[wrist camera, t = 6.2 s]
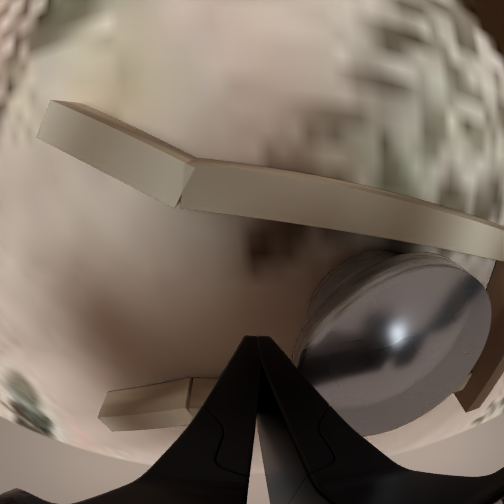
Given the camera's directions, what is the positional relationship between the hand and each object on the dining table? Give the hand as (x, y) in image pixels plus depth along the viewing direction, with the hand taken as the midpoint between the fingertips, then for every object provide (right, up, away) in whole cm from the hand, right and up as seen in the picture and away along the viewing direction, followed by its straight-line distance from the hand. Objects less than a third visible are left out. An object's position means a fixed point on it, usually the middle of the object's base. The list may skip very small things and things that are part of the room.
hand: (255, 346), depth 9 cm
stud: (+4, +1, +2) cm, 5 cm away
